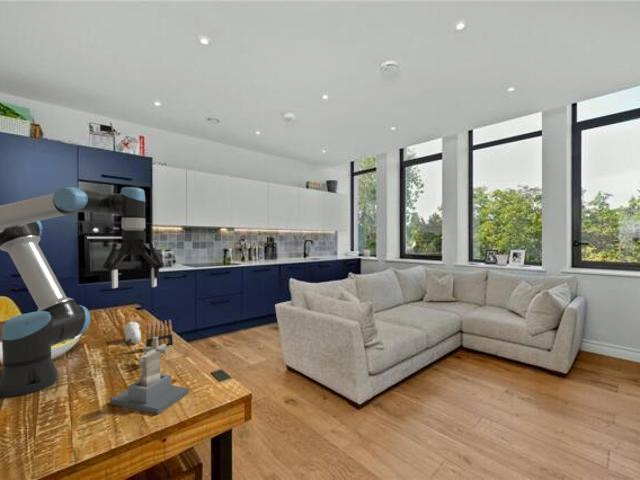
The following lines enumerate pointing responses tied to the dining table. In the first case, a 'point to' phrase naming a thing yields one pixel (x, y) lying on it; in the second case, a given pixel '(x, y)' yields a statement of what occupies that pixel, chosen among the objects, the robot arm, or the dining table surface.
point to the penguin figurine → (132, 332)
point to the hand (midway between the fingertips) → (134, 287)
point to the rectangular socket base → (151, 395)
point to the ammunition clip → (159, 334)
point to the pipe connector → (155, 347)
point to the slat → (149, 368)
